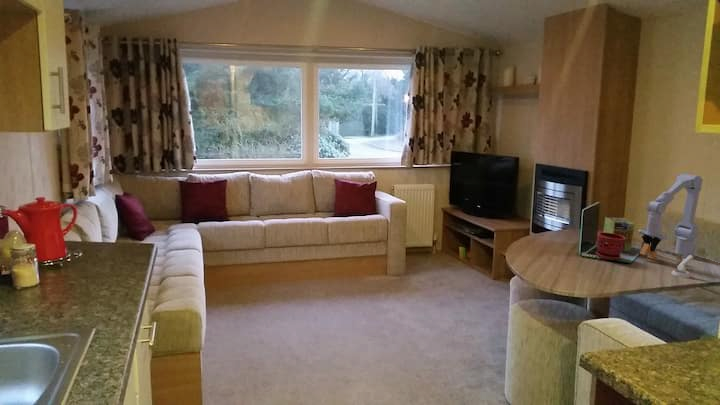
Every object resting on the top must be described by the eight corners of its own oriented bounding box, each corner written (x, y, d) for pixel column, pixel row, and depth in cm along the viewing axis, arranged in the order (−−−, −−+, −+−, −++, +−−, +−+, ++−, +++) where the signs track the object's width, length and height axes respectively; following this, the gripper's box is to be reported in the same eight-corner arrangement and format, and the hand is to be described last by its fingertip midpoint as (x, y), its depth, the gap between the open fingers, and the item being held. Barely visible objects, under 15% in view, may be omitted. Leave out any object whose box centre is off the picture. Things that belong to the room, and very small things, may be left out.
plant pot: (611, 262, 264) (614, 239, 262) (589, 255, 276) (592, 232, 274) (628, 260, 270) (631, 237, 268) (606, 252, 282) (609, 231, 280)
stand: (645, 251, 288) (647, 241, 287) (684, 263, 268) (685, 253, 267) (638, 252, 286) (639, 242, 285) (676, 264, 266) (677, 254, 265)
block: (648, 258, 275) (653, 248, 275) (652, 259, 273) (657, 249, 273) (639, 253, 272) (644, 243, 272) (644, 254, 270) (649, 244, 270)
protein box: (610, 250, 287) (614, 222, 284) (601, 243, 302) (605, 216, 299) (630, 252, 286) (635, 224, 283) (620, 244, 301) (624, 217, 298)
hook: (706, 267, 245) (697, 260, 243) (685, 285, 248) (677, 278, 246) (695, 259, 252) (687, 252, 250) (675, 277, 255) (667, 269, 253)
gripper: (635, 221, 275) (631, 247, 277) (661, 228, 262) (656, 255, 264) (645, 221, 278) (641, 246, 280) (670, 227, 265) (666, 254, 267)
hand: (649, 250), depth 273 cm, fingers closed on block, 3 cm apart
